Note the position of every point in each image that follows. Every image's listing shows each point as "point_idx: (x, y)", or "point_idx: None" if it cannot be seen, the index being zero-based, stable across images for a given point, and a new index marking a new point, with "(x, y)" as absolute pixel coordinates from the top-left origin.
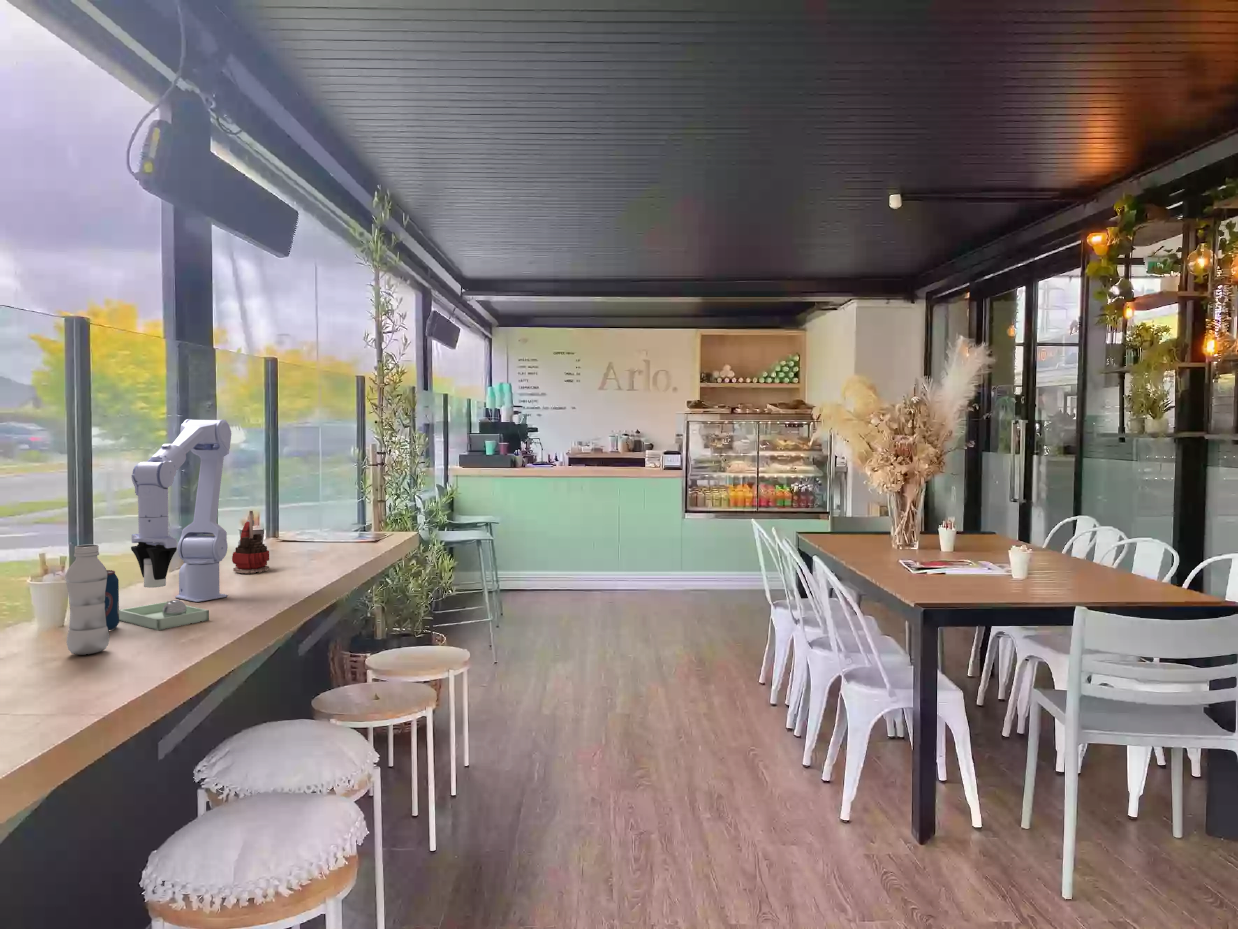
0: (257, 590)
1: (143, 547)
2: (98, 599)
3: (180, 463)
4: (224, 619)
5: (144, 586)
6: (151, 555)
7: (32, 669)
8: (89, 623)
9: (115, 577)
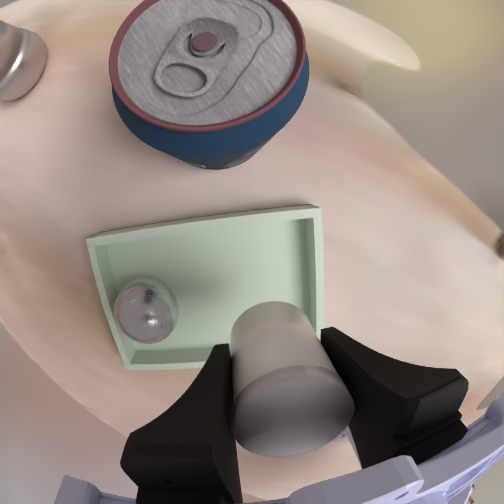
0: (341, 464)
1: (393, 439)
2: None
3: None
4: (123, 374)
5: (275, 302)
6: (181, 422)
7: (28, 11)
8: None
9: (136, 126)
